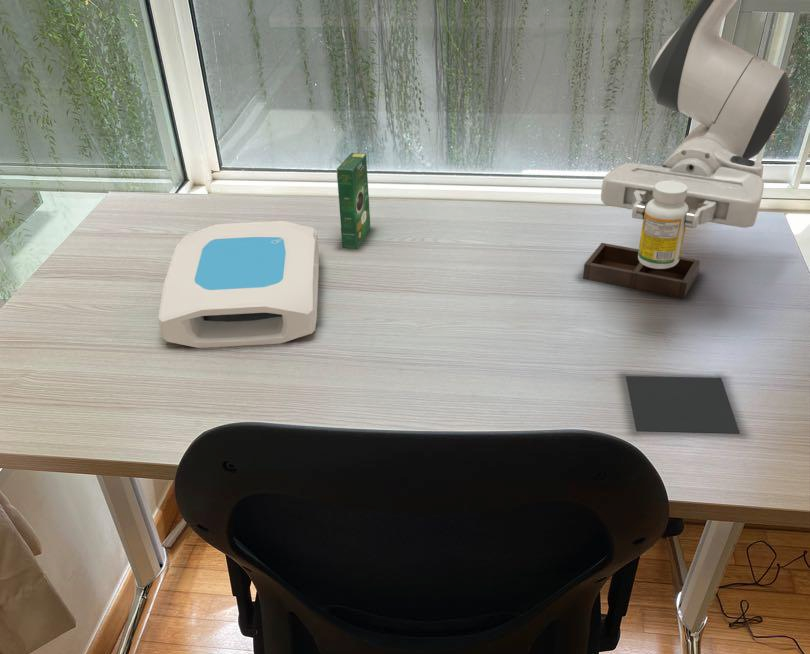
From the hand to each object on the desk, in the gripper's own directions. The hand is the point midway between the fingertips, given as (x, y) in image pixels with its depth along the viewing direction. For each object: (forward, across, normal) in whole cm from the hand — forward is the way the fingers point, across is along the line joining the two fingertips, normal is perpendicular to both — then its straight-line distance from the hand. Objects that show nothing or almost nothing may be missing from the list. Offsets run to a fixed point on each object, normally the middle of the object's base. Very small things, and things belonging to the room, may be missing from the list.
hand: (664, 217), depth 109 cm
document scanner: (+15, -56, +16) cm, 61 cm away
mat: (+15, +9, +17) cm, 24 cm away
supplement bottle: (-1, 0, +6) cm, 6 cm away
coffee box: (-10, -52, +17) cm, 56 cm away
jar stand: (-16, -6, +17) cm, 24 cm away
